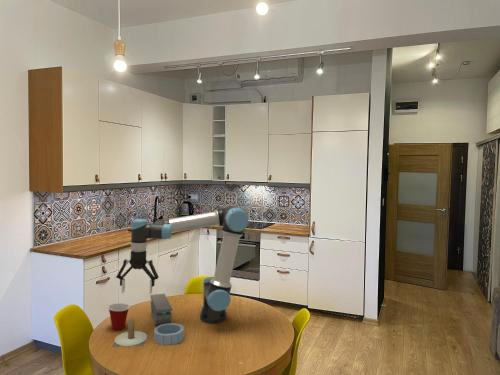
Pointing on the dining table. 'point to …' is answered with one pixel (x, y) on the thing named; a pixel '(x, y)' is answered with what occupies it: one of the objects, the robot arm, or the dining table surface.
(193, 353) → the dining table surface
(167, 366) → the dining table surface
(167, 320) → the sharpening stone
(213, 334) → the dining table surface
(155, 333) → the bowl
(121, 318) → the plastic cup
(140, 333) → the lid
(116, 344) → the mat
